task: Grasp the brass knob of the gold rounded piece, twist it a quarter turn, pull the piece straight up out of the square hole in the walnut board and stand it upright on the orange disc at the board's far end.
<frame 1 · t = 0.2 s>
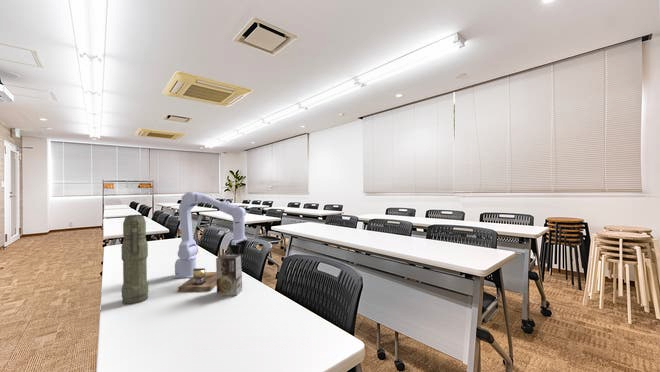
hand: (239, 256, 143), 10 cm above the table, tool pointing down, fingers open, 7 cm apart
coffee box: (229, 293, 119), on the table
gold rounded piece: (199, 287, 126), resting in board
board: (204, 283, 132), on the table
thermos: (135, 300, 112), on the table
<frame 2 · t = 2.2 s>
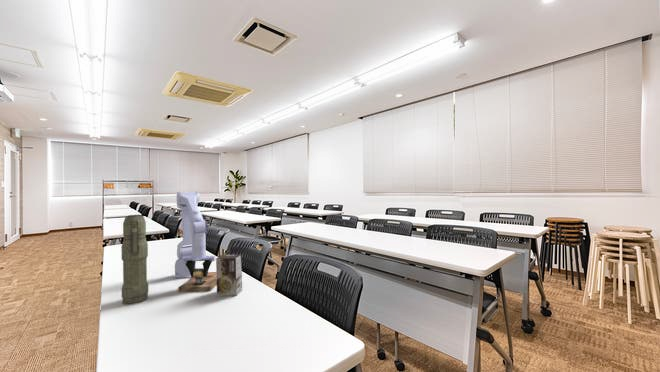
hand: (199, 276, 126), 5 cm above the table, tool pointing down, fingers closed on gold rounded piece, 5 cm apart
gold rounded piece: (199, 287, 126), resting in board, touching gripper
everything else where it was.
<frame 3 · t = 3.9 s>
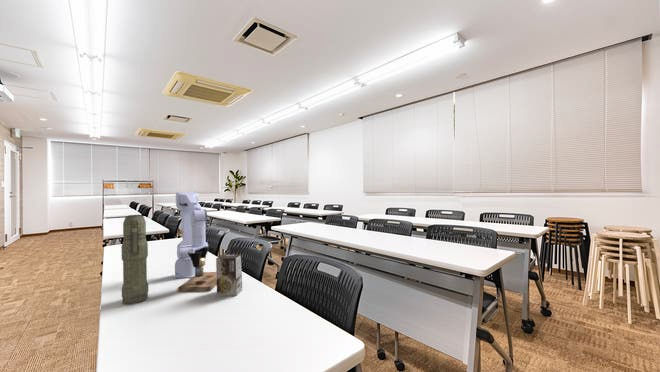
hand: (199, 265, 126), 10 cm above the table, tool pointing down, fingers closed on gold rounded piece, 5 cm apart
gold rounded piece: (199, 275, 126), point 5 cm above the table, touching gripper
everything else where it was.
when the fingers open (8 cm above the table, at t = 5.8 s): gold rounded piece stays where it is, resting on board.
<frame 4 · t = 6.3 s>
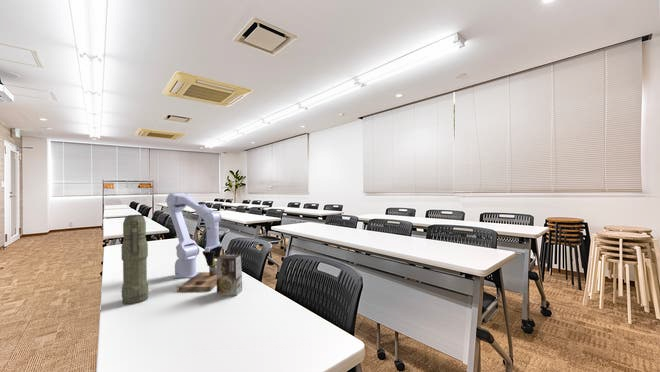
hand: (213, 263, 137), 8 cm above the table, tool pointing down, fingers open, 7 cm apart
gold rounded piece: (213, 274, 137), point 2 cm above the table, touching board
everything else where it was.
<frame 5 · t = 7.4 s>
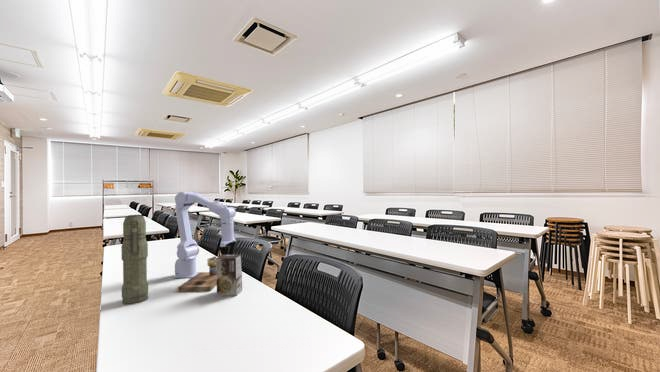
hand: (228, 258, 138), 10 cm above the table, tool pointing down, fingers open, 7 cm apart
nothing on the table moved.
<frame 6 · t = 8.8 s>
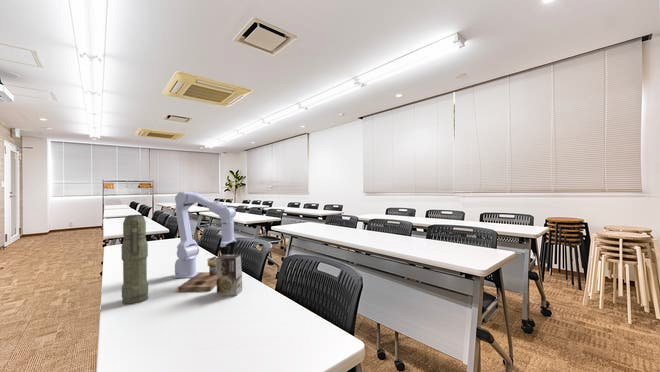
hand: (228, 258, 138), 10 cm above the table, tool pointing down, fingers open, 7 cm apart
nothing on the table moved.
at the end: gold rounded piece 0.0 cm from the target spot, point 2.2 cm above the table; gold rounded piece tilted 0°; the gripper is holding nothing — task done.
